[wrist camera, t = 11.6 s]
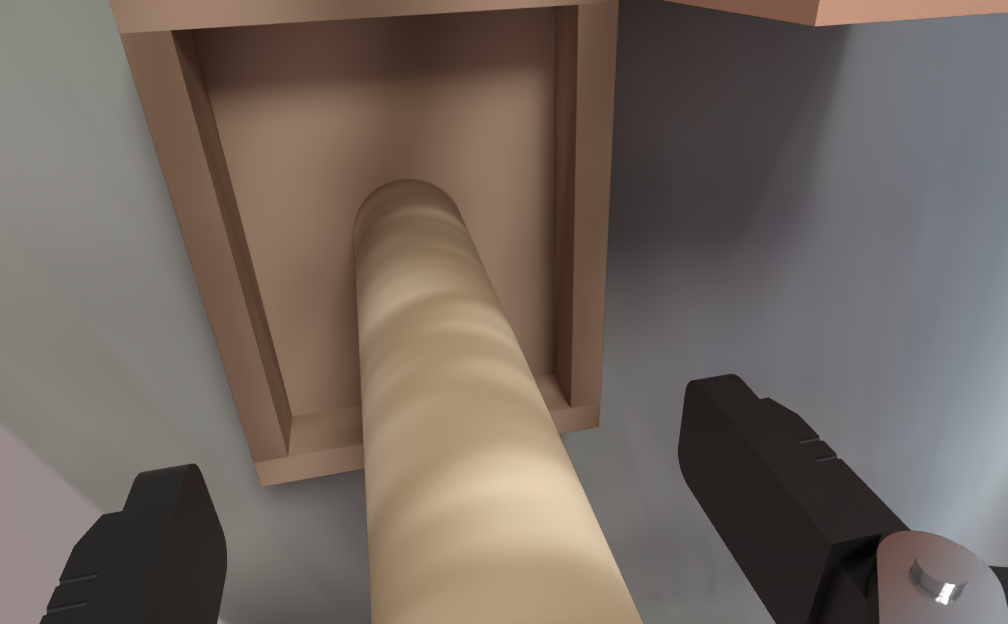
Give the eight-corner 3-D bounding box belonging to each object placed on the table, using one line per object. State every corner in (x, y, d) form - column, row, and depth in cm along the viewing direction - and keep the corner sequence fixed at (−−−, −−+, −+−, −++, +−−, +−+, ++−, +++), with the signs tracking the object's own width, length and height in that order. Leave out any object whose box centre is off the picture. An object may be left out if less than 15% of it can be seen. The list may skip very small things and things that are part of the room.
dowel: (458, 173, 18) (670, 583, 7) (466, 272, 20) (647, 746, 8) (346, 185, 18) (354, 654, 6) (362, 286, 20) (396, 814, 8)
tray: (580, -48, 17) (621, -47, 15) (571, 376, 24) (599, 426, 22) (141, -27, 15) (102, -21, 13) (270, 425, 22) (261, 486, 20)
